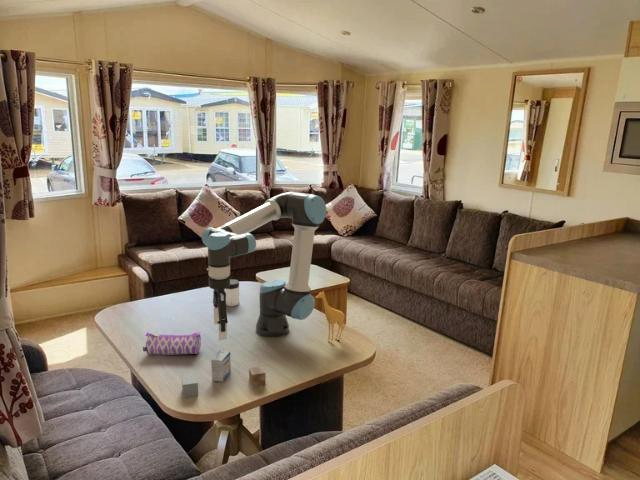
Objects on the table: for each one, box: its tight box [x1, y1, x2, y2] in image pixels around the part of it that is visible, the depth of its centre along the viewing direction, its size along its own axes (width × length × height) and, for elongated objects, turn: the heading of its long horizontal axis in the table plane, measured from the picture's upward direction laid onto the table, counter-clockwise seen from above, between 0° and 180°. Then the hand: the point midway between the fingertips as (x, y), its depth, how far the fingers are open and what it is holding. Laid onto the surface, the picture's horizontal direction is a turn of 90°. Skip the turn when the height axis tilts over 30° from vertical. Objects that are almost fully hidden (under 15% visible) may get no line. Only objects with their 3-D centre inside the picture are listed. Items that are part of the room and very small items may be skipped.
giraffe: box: [314, 290, 346, 341], centre depth 205 cm, size 16×4×25 cm, turn 125°
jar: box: [224, 278, 240, 307], centre depth 247 cm, size 9×8×12 cm
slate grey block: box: [181, 375, 199, 398], centre depth 167 cm, size 5×5×5 cm
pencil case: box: [142, 331, 202, 356], centre depth 194 cm, size 22×9×9 cm, turn 95°
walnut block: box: [248, 365, 267, 388], centre depth 175 cm, size 5×5×5 cm
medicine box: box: [210, 350, 232, 383], centre depth 178 cm, size 8×4×9 cm, turn 168°
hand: (220, 331), depth 174 cm, fingers open, 13 cm apart
